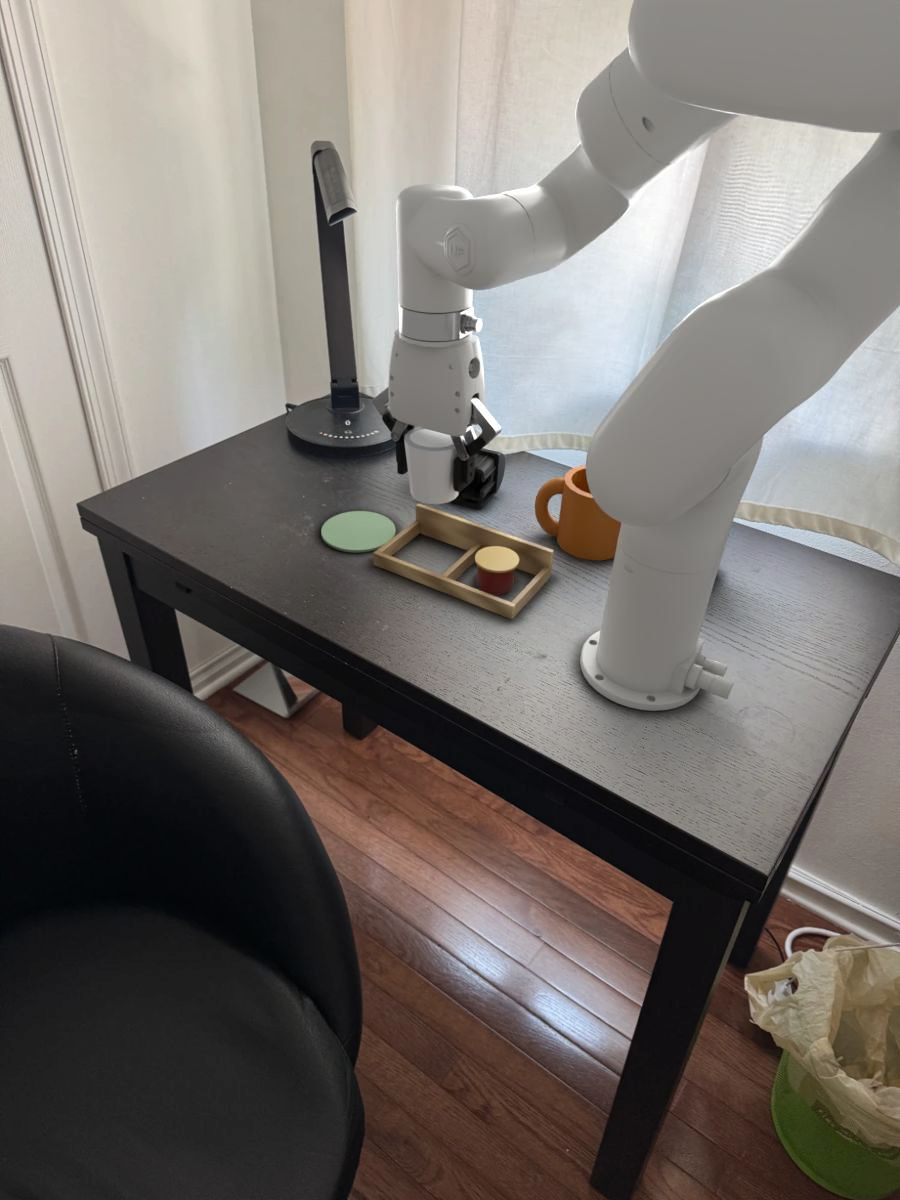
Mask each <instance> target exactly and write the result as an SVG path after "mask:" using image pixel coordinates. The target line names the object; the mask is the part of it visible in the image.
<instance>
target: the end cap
mask: <svg viewBox="0 0 900 1200" xmlns="http://www.w3.org/2000/svg"><path fill="white" fill-rule="evenodd" d="M466 445H467V443H466ZM505 471H506V457H505V454H504V453H503V452H502V451H497V450H493V449H488V448H485V447H483V448H482V449H481V450H479V451H478V452H477V453H475V472H474V479H473V481H472V482H471V483H470V484H469V485H468V486H466V487H465V488H464V489H463V490H461V491H460V492H459V493H458V496H457V497H456V498H455V499H454V500H452V501H450V502H449V503H453V504H458V505H461V506H465V507H469V508H473V509H475V510H476V509H477V510H483V509H484V508H485V507H486V506H487V504H488V503H489V502H490V501H491V500H492V498H493V497H494V495H496V494H497V493H498V491H499V489H500V487H501V485H502V483H503V479H504V476H505Z"/></svg>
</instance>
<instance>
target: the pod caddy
mask: <svg viewBox="0 0 900 1200" xmlns="http://www.w3.org/2000/svg"><path fill="white" fill-rule="evenodd" d="M420 534H421V535H424V536H426V537H429V538H432V539H434V540H437V541H440V542H443V543H445V544H448V545H451V546H454V547H456V548H459V549H462V550H465V551H466V552H465V553H464V554H463V555H462V556H461V557H460V558H458V559H457V560H456V561H455V562H454V563H453V564H452V565H450V567H448V568H447V569H446V570H445V571H444V572H443V573H442V574H438V573H436V572H434V571H431V570H428V569H425V568H423V567H421V566H418V565H415V564H414V563H413V564H412V563H411V562H407V561H405V560H402V559H400V558H397V557H394V556H393V555H394V554H396V553H397V552H399V550H400V549H402V548H404V547H405V546H406V545H407V544H408V543H409V542H411V541H412V540H413V539H415V538H416V537H418V535H420ZM490 546H500V547H505V548H508V549H511V550H512V551H514V552H515V553H516V554H517V555H518V557H519V564H518V566H517V567H516V568H515V569H517V570H520V571H523V572H526V573H528V574H531V575H534V577H533V578H532V579H531V580H530V581H529V582H528V584H527V585H526V586H524V588H523V589H521V591H520V592H519V593H518V594H517V595H516V596H515V597H514V598H513V599H512V601H509V600H506V599H504V598H502V597H498V596H497V595H494V594H489V593H486V592H484V591H482V590H481V589H479V588H475V587H473V586H469V585H467V584H464V583H462V582H460V581H457V579H458V578H460V577H461V576H462V575H463V574H464V573H465V572H466V571H467V570H468V569H469V568H470V567H471V566H472V565H473V564H475V563H476V562H475V555H476V553H477V552H478V551H479V550H481V549H483V548H485V547H490ZM372 555H373V557H372V558H373V559H372V560H373V566H375V567H378V568H381V569H382V570H386V571H388V572H390V573H393V574H396V575H398V576H401V577H403V578H405V579H408V580H411V581H413V582H416V583H418V584H421V585H423V586H425V587H429V588H431V589H434V590H436V591H439V592H441V593H444V594H446V595H449V596H452V597H454V598H456V599H459V600H462V601H464V602H467V603H469V604H472V605H474V606H476V607H479V608H482V609H484V610H487V611H490V612H492V613H494V614H497V615H500V616H502V617H505V618H507V619H510V620H513V619H514V618H515V617H516V616H517V615H518V614H519V613H520V612H521V611H522V610H523V608H524V607H525V606H526V605H527V604H528V603H530V601H531V599H533V598H534V596H535V595H536V594H537V593H538V592H539V591H540V590H541V589H542V588H543V586H544V585H545V584H546V583H547V582H549V580H550V579H551V576H552V571H553V570H552V569H553V563H554V555H555V549H553V548H549V547H546V546H543V545H540V544H538V543H535V542H532V541H529V540H526V539H523V538H521V537H518V536H515V535H511V534H509V533H506V532H504V531H500V530H497V529H494V528H492V527H488V526H485V525H482V524H480V523H477V522H474V521H471V520H468V519H466V518H462V517H459V516H457V515H454V514H451V513H448V512H445V511H443V510H442V511H441V510H439V509H437V508H434V507H431V506H428V505H425V504H421V503H417V504H415V520H414V521H413V522H412V523H410V524H409V525H408V526H407V527H405V528H404V529H402V530H401V531H400V532H398V533H397V534H395V537H393V538H392V539H391V540H390V541H388V542H387V543H386V544H384V545H383V546H382V547H380V548H379V549H377V550H374V551H373V552H372Z"/></svg>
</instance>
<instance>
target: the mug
mask: <svg viewBox="0 0 900 1200" xmlns="http://www.w3.org/2000/svg"><path fill="white" fill-rule="evenodd" d="M556 495H561V501H560V509H559V516H558V521H557V520H556V519H554V518H553V517H552V516H551V514H550V511H549V503H550V501H551V499H552V498H553V497H554V496H556ZM534 514H535V517H536V520H537V522H538V525H539V526H540V528H541V529H542V530H543V531H544V532H545V533H546V534H548V535H550V536H551V537H553V538H556V542H557V544H558V546H559V547H560V548H561V550H563V551H564V552H566V553H567V554H568V555H571V556H573V557H575V558H578V559H582V560H586V561H606V560H611V559H614V558H615V552H616V547H617V542H618V537H619V533H620V528H621V522H619V521H617V520H615V519H613V518H611V517H610V516H609V515H607V514H606V513H605V512H604V511H603V510H602V509H601V508H600V507H599V506H598V504H597V503H596V502H595V500H594V498H593V496H592V494H591V492H590V489H589V486H588V482H587V477H586V464H583V465H578V466H576V467H573V468H570V470H568V471H567V472H565V476H564V477H555V478H552V479H548V481H546V482H545V483H543V485H542V486H541V487H540V488H539V490H538V492H537V494H536V496H535V500H534Z"/></svg>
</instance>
